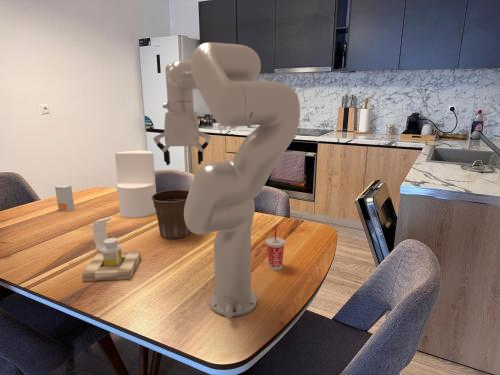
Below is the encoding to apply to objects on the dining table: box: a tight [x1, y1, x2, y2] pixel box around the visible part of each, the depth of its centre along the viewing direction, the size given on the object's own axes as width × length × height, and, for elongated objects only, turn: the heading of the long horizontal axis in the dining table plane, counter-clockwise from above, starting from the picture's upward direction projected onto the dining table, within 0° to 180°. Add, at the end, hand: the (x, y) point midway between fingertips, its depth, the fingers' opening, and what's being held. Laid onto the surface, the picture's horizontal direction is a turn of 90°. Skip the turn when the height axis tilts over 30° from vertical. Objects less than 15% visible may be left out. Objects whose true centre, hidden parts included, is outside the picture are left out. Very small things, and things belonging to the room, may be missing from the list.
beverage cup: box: [265, 225, 286, 271], centre depth 112 cm, size 6×6×14 cm
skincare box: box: [54, 184, 75, 212], centre depth 169 cm, size 6×4×12 cm
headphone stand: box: [91, 217, 112, 253], centre depth 126 cm, size 5×6×12 cm
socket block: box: [81, 250, 142, 282], centre depth 113 cm, size 14×14×2 cm
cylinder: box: [114, 150, 157, 219], centre depth 164 cm, size 17×17×28 cm
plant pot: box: [151, 189, 192, 240], centre depth 139 cm, size 16×16×16 cm
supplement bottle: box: [102, 237, 122, 267], centre depth 111 cm, size 5×5×10 cm
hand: (184, 163), depth 109 cm, fingers open, 9 cm apart
